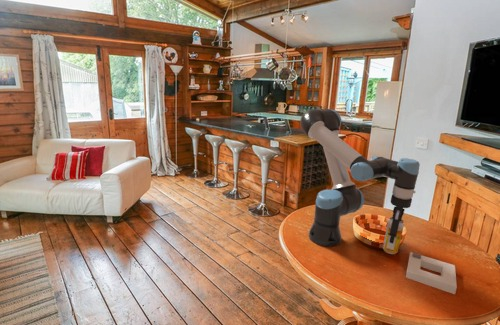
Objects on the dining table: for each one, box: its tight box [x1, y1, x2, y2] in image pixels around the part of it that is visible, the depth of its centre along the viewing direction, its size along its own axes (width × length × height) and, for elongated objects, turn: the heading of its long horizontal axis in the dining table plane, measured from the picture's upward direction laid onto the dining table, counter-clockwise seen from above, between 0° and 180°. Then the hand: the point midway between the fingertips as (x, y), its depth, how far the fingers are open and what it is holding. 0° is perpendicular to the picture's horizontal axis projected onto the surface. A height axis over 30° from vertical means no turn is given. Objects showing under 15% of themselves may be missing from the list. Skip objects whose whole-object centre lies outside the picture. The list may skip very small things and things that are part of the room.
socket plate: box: [405, 251, 458, 295], centre depth 114 cm, size 16×16×4 cm
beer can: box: [382, 216, 405, 255], centre depth 123 cm, size 6×6×15 cm
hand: (391, 244), depth 124 cm, fingers closed on beer can, 6 cm apart
